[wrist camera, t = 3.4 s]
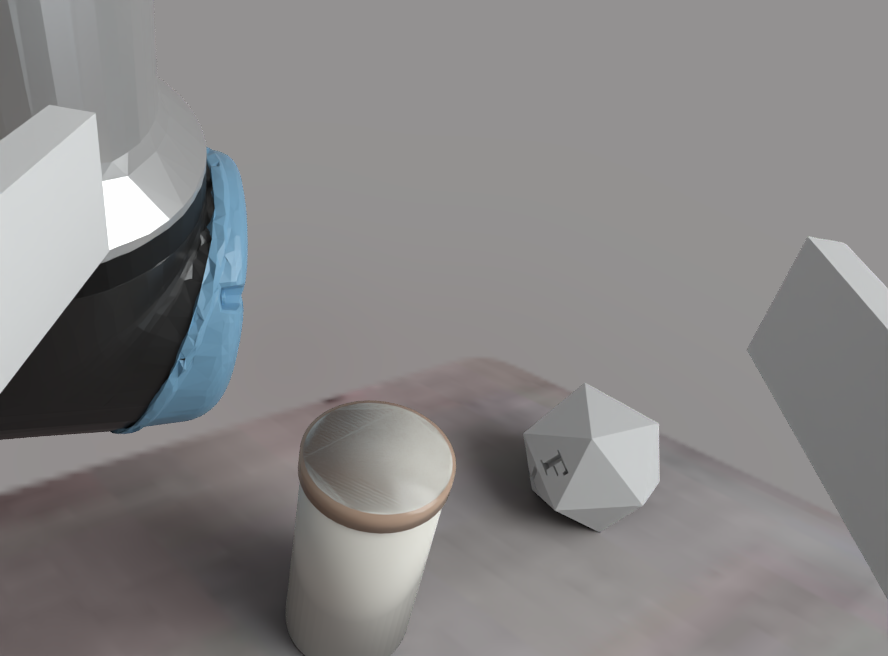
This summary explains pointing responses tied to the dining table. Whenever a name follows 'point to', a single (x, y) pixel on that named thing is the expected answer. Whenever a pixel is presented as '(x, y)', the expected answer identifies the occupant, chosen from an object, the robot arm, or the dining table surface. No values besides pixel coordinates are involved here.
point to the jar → (364, 526)
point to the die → (593, 458)
